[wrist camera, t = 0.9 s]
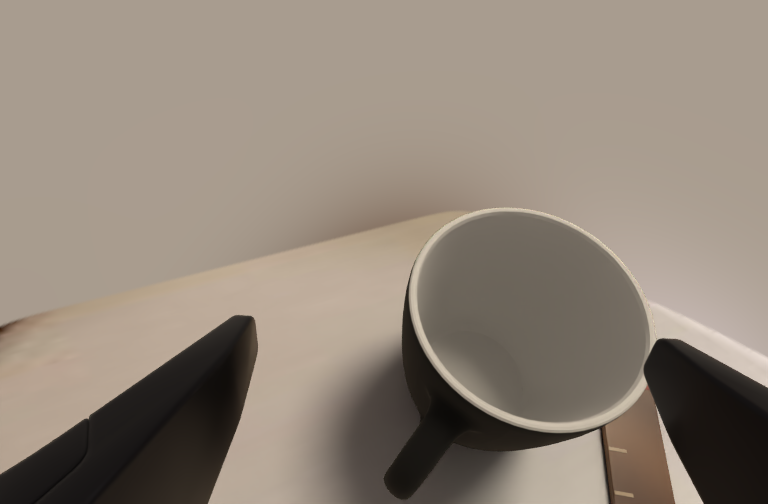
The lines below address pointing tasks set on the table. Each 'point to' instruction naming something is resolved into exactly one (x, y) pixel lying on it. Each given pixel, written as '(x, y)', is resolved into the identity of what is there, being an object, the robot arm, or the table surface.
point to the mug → (516, 338)
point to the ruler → (637, 456)
